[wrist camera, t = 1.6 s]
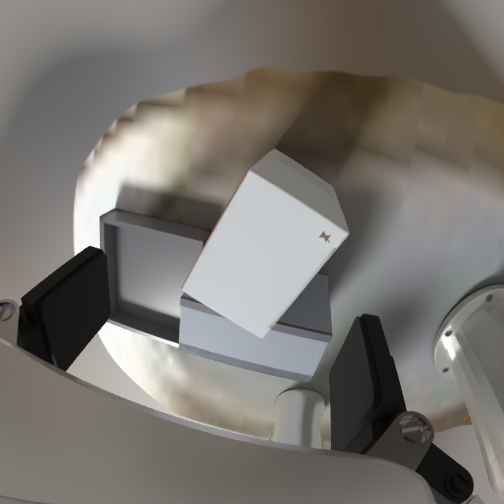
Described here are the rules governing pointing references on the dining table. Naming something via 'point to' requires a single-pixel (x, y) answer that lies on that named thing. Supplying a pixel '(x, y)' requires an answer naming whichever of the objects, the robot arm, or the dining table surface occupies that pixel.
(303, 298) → the grey rectangular block
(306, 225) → the small box
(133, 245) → the tray
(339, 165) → the dining table surface
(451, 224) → the dining table surface
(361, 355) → the robot arm
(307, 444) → the beer glass
